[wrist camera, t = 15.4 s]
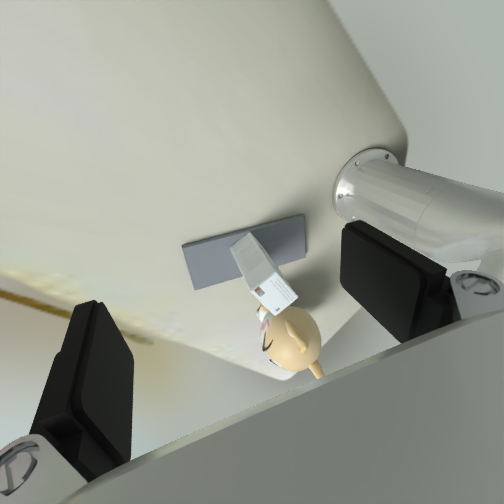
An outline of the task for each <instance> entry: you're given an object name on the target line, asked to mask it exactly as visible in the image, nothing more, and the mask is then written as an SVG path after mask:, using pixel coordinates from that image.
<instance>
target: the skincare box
mask: <svg viewBox="0 0 504 504" xmlns="http://www.w3.org/2000/svg"><path fill="white" fill-rule="evenodd" d="M230 250H231V252H232V254H233V256H234V258H235V260H236V262H237V264H238V267H239V269H240V271H241V273H242V275H243V277H244V279H245V282H246V284H247V286H248V288H249V290H250V292H251V293H252V294H253V295H254V296H255V297H256V298H257V299H258V300H259V301H260V302H261V304H262V305H263V306H264V307H266V308H267V309H268V310H269V311H270V312H271V313H272V314H273V315H274V316H276V315H277V314H279V313H280V312H281V311H282V310H284V309H285V308H286V307H287V306H289V305H290V304H291V303H292V302H294V301H295V300H296V299H297V298H298V296H297V294H296V293H295V292H294V290H293V289H292V287H291V286H290V284H289V283H288V282H287V280H286V279H285V277H284V276H283V274H282V273H281V272H280V270H279V269H278V267H277V266H276V265H275V263H274V262H273V260H272V259H271V257H270V256H269V255H268V253H267V252H266V250H265V249H264V248H263V246H262V245H261V244H260V243H259V241H258V240H257V239H256V238H255V237H254V236H253V235H252V233H251V232H249V233H248V234H246V235H245V236H244V237H242V238H241V239H240V240H238V241H237V242H236V243H235V244H234V245H232V246H231V247H230Z"/></svg>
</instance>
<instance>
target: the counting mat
mask: <svg viewBox="0 0 504 504" xmlns="http://www.w3.org/2000/svg"><path fill="white" fill-rule="evenodd" d="M249 232H251V233H252V235H253V236H254V237H255V238H256V239H257V240H258V241H259V243H260V244H261V245H262V246H263V248H264V249H265V250H266V252H267V253H268V255H269V256H270V257H271V259H272V260H273V262H274V263H275V265H276V266H279V265H282V264H285V263H289V262H292V261H295V260H299V259H302V258H306V256H305V219H304V216H303V215H302V214H301V215H297V216H293V217H289V218H286V219H282V220H278V221H274V222H270V223H266V224H263V225H259V226H255V227H251V228H247V229H243V230H240V231H236V232H232V233H228V234H224V235H220V236H217V237H213V238H209V239H205V240H201V241H197V242H194V243H190V244H186V245H182V249H183V253H184V256H185V259H186V263H187V266H188V269H189V273H190V276H191V280H192V283H193V286H194V290H198V289H201V288H205V287H208V286H212V285H215V284H218V283H222V282H225V281H228V280H232V279H235V278H238V277H242V276H243V275H242V273H241V271H240V269H239V267H238V264H237V262H236V260H235V258H234V256H233V254H232V252H231V250H230V247H231V246H232V245H234V244H235V243H236V242H237V241H238V240H240V239H241V238H242V237H244V236H245V235H246V234H248V233H249Z"/></svg>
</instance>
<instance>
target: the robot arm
mask: <svg viewBox="0 0 504 504" xmlns="http://www.w3.org/2000/svg"><path fill="white" fill-rule="evenodd" d="M333 200H334V206H335V209H336V211H337V212H338V214H339V215H340V216H341V217H342V218H343V219H345V220H346V221H348V222H350V223H347V224H346V225H345V228H343V229H342V240H341V267H340V282H341V285H342V287H343V288H344V289H345V290H346V291H347V292H348V293H349V294H350V295H351V296H352V297H353V298H354V299H355V300H356V301H357V302H358V303H359V304H360V305H362V306H363V307H364V308H365V309H366V310H367V311H368V312H369V313H370V314H371V315H372V316H373V317H374V318H375V319H376V320H377V321H378V322H379V323H380V324H381V325H382V326H383V327H385V328H386V329H387V330H388V331H389V332H390V333H391V334H392V335H393V336H394V337H395V338H396V339H397V340H398V341H399V342H400V343H402V344H400V345H397V346H395V347H393V348H390V349H388V350H385V351H383V352H381V353H378V354H376V355H373V356H371V357H369V358H366V359H364V360H361V361H359V362H357V363H354V364H352V365H350V366H347V367H345V368H343V369H340V370H338V371H335V372H333V373H331V374H328V375H326V376H324V377H321V378H319V379H317V380H314V381H312V382H310V383H307V384H305V385H302V386H300V387H298V388H295V389H293V390H291V391H288V392H286V393H284V394H281V395H279V396H277V397H275V398H272V399H270V400H267V401H265V402H263V403H260V404H258V405H256V406H253V407H251V408H249V409H246V410H244V411H242V412H240V413H237V414H235V415H233V416H230V417H228V418H226V419H223V420H221V421H219V422H216V423H214V424H212V425H209V426H207V427H205V428H203V429H201V430H198V431H195V432H193V433H191V434H189V435H186V436H184V437H182V438H180V439H177V440H175V441H173V442H171V443H169V444H166V445H164V446H162V447H160V448H158V449H155V450H153V451H151V452H149V453H146V454H144V455H142V456H140V457H138V458H135V459H133V460H131V461H130V459H131V437H132V408H133V407H132V406H133V377H134V376H133V375H134V359H133V355H132V353H131V351H130V349H129V347H128V345H127V344H126V342H125V340H124V338H123V336H122V335H121V333H120V331H119V329H118V327H117V326H116V324H115V322H114V320H113V319H112V317H111V315H110V313H109V311H108V310H107V308H106V306H105V305H104V303H103V302H100V303H98V302H97V301H96V300H92V301H89V302H85V303H82V304H79V305H76V306H75V308H74V310H73V314H72V317H71V320H70V323H69V326H68V329H67V332H66V335H65V338H64V342H63V345H62V348H61V351H60V352H59V353H57V354H56V356H55V358H54V361H53V364H52V367H51V370H50V373H49V376H48V379H47V382H46V385H45V388H44V391H43V394H42V397H41V400H40V403H39V406H38V409H37V412H36V415H35V417H34V420H33V424H32V426H31V429H30V432H29V435H26V436H23V437H20V438H19V439H17V440H15V441H13V442H11V443H9V444H8V445H7V446H5V447H4V448H3V449H1V450H0V504H504V193H501V192H497V191H493V190H489V189H485V188H481V187H477V186H474V185H470V184H466V183H462V182H459V181H455V180H452V179H448V178H444V177H441V176H437V175H433V174H430V173H426V172H423V171H420V170H415V169H412V168H408V167H404V166H401V165H399V163H398V160H397V159H396V157H395V156H394V155H393V154H392V153H390V152H388V151H386V150H383V149H368V150H365V151H363V152H361V153H359V154H357V155H356V156H354V157H353V158H352V159H351V160H350V161H349V162H348V163H347V164H346V165H345V166H344V168H343V169H342V171H341V172H340V174H339V176H338V178H337V181H336V183H335V187H334V194H333ZM366 222H368V223H370V224H372V225H374V226H375V227H377V228H379V229H381V230H382V231H384V232H386V233H388V234H389V235H391V236H393V237H395V238H396V239H398V240H400V241H402V242H403V243H405V244H407V245H409V246H410V247H412V248H414V249H416V250H417V251H419V252H421V253H423V254H425V255H426V256H428V257H430V258H432V259H435V260H438V261H442V262H448V263H458V262H467V261H474V260H479V259H481V264H480V266H479V267H478V269H477V271H472V270H463V271H457V272H455V273H453V274H452V275H451V277H450V278H449V277H447V276H446V275H445V274H446V271H447V269H446V268H445V267H443V266H441V265H439V264H438V263H436V262H434V261H432V260H430V259H429V258H427V257H425V256H424V255H422V254H420V253H418V252H417V251H415V250H413V249H411V248H410V247H408V246H406V245H404V244H403V243H401V242H399V241H397V240H396V239H394V238H392V237H390V236H389V235H387V234H385V233H383V232H382V231H380V230H378V229H376V228H375V227H373V226H371V225H369V224H368V223H366Z"/></svg>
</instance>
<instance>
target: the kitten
mask: <svg viewBox="0 0 504 504" xmlns="http://www.w3.org/2000/svg"><path fill="white" fill-rule="evenodd" d="M256 315H257V316H258V317H259V319H260V321H261V322H262V324H261V331H260V338H261V344H262V347H263V348H262V349H263V352H264V351H265V352H266V354H267V355H268V357H269V358H270V361H271V362H273V363H274V364H276V365H277V366H279V367H281V368H283V369H285V370H288V371H301V370H304V369H306V368H308V367H309V369H310V370H311V371H312V372H313V373H314V375H315V377H316V378H317V379H319V378H321V377H324V373H323V370H322V368H321V366H320V363H319V362H318V361H317V358H318V356H319V353H320V350H321V335H320V331H319V329H318V326H317V324H316V322H315V321H314V319H313V318H312V317H311V315H310V314H309V313H307V312H306V311H305V310H303V309H301V308H298V307H293V306H291V304H290V305H289V306H287V307H286V308H285V309H284V310H282V311H281V312H280V313H279V314H277V315H276V316H274V315H273V314H272V313H271V312H270V311H269V310H268V309H267V308H266V307H264V306H263V305H261V307H260V309H259V310H258V311H257V312H256Z"/></svg>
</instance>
